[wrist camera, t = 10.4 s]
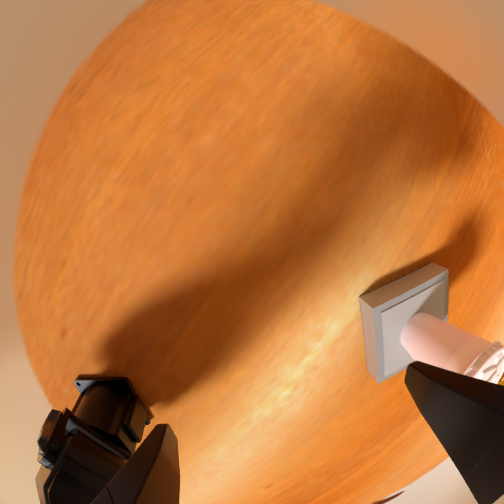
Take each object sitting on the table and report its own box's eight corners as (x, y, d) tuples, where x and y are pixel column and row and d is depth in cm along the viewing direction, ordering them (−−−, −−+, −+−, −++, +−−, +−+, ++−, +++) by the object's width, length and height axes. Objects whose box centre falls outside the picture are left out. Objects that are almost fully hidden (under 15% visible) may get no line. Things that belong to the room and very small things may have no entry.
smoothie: (429, 283, 20) (552, 356, 6) (445, 325, 22) (539, 395, 8) (378, 334, 20) (486, 445, 7) (401, 370, 22) (483, 461, 8)
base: (367, 369, 24) (378, 384, 22) (358, 296, 22) (373, 309, 20) (432, 333, 25) (445, 344, 22) (432, 262, 23) (449, 269, 20)
